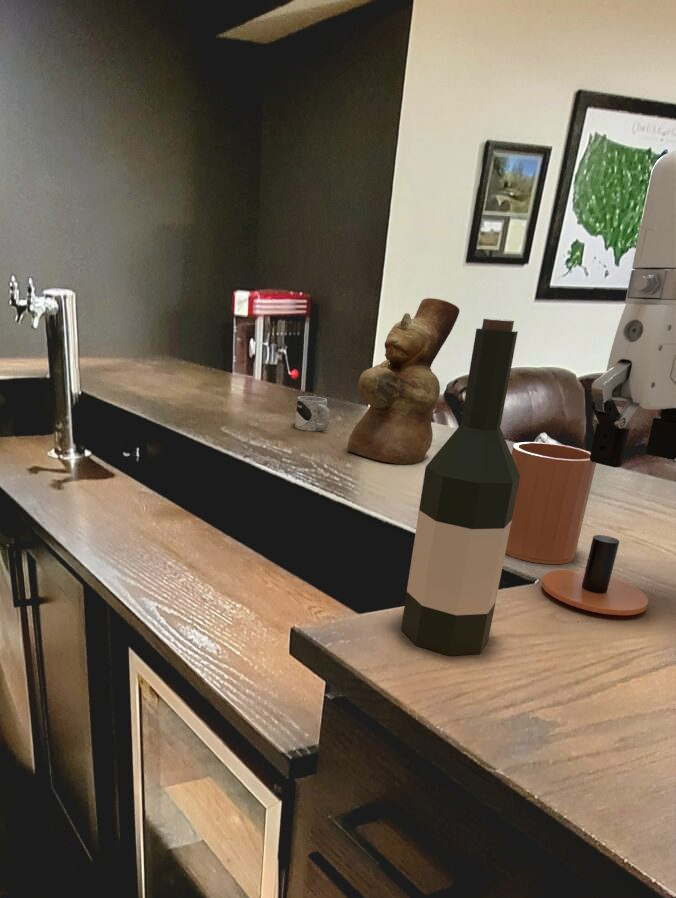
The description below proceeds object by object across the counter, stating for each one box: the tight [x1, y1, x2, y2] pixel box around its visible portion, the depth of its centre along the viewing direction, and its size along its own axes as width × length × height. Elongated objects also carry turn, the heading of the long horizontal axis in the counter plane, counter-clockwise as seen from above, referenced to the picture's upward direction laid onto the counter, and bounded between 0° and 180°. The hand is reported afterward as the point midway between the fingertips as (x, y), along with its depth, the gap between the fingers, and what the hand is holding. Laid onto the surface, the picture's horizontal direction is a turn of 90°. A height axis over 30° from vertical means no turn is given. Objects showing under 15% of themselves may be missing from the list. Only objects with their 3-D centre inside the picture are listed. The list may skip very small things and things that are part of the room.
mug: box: [294, 395, 331, 432], centre depth 162 cm, size 10×7×7 cm
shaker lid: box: [541, 534, 649, 616], centre depth 80 cm, size 11×11×7 cm
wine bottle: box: [400, 318, 520, 657], centre depth 66 cm, size 8×8×30 cm
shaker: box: [505, 441, 597, 565], centre depth 93 cm, size 10×10×14 cm
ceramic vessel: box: [347, 297, 461, 465], centre depth 140 cm, size 16×22×30 cm
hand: (633, 460), depth 76 cm, fingers open, 9 cm apart
